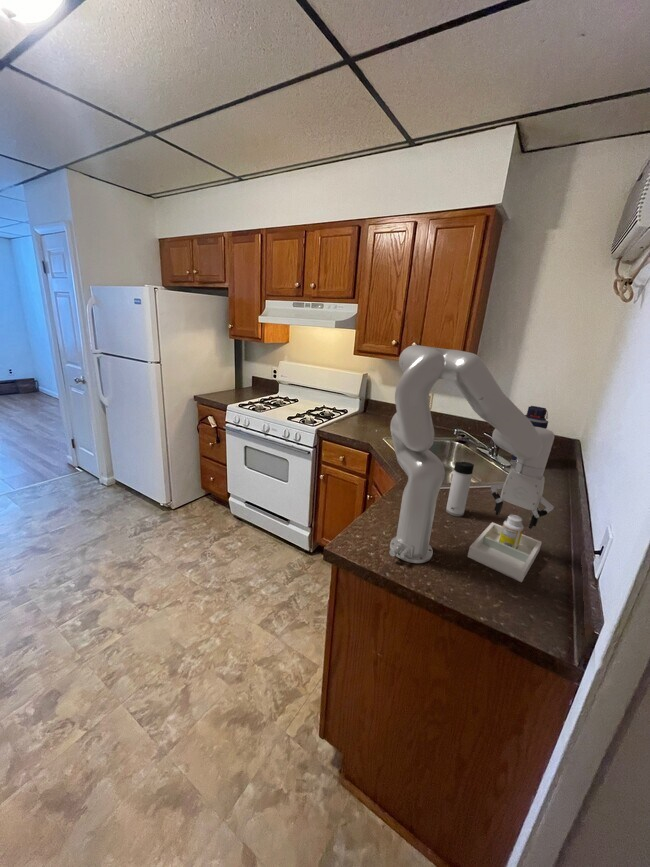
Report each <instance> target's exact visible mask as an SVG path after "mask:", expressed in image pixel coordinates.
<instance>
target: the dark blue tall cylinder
mask: <svg viewBox="0 0 650 867" xmlns="http://www.w3.org/2000/svg"><path fill="white" fill-rule="evenodd" d="M524 415H525V416H526V417H527V418H528V419H529V420H530V422H531V423H532V424H533V426H534V427H540V428H545V429H548V424H549V421H548V418H549V417H548V416H549V413H548V410H547V409H546V408H545V407H541V406H538V405H537V406H536V405H535V406H534V405H530V406H528V408H527V412H526V414H524ZM511 460H517V457H515V456H514V455H512V454H511V458H510V461H511Z"/></svg>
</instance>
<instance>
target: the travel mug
mask: <svg viewBox="0 0 650 867" xmlns="http://www.w3.org/2000/svg"><path fill="white" fill-rule="evenodd" d="M474 467H475V465H474V463H472V462H469V461H456V462H455V463H454V467H453V472H452V477H451V478H452V479H451V483H450V487H449V492H448V496H447V497H448V499H447V504H446V509H445V511H446V513H447V514H449V515H451V516H455V517H463V516H464V514H465V511H466V505H467V501H468V495H469V491H470V487H471V482H472V478H473V473H474V472H473V471H474Z"/></svg>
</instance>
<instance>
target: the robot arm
mask: <svg viewBox="0 0 650 867" xmlns="http://www.w3.org/2000/svg"><path fill="white" fill-rule="evenodd" d="M398 366H399V369H400V370H401V371H402V373H403V374H402V375H401V377H400V379H399V380H398V382H397V385H396V388H395V391H394V392H395V393H394V402H395V409H396V410H395V411H396V412H395V413H394V414H393V415H392V418H391V420H390V426H389V428H390V434H391V435H390V436H391V439H392V445H393V448H394V452H395V457H396V460H397V463H398V465H399V467H400V468H401V469H402V470H403V471H404V473H405V475H407V478H408V479H407V482H406V485H405V487H404V489H403V492H402V498H401V505H400V511H399V519H398V524H397V530H396V536H395V537H392V538H391V541H390V542H389V543H390V544H389V555H390V556H391V557H397V558H399V560H400V559H401V561H404V562H407V563H411V564H412V563H413V564H423V563H426V562H429V561H430V560H431V559H432V557H433V555H434V554H433V553H434V552H433V548H432V546H431V545H430V538H431V534H432V528H433V525H434V524H433V522H434V517H435V513H436V506H437V501H438V498H439V497H438V496H439V492H440V489H441V488H442V485H443V483H444V479H445V477H446V476H445V475H446V470H445V466H444V464H443V462H442V461H441V459H440V458H439V457H438V456H437V455H436V454H434V453H433V452H432V450H430V448H432V446H433V444H434V442H435V429H434V422H433V419H432V414H431V413H432V412H431V408H430V393H431V391H432V388H433V387H434V385H435V384H436V383H437V382H438V380H446V381H450V382H452V383H454V384H455V386H456V388H458V390H459V391H460V393H461V394H462V395H463V396H464V398H465V401H467V403H468V404H469V405H470V407H471V409H472V410H473V412H474V413H475V414H476V415H477V416H479V418H481V419H482V420H483V421H485V422H487V423H488V424H489V425H491V426H492V427H493V428H494V429H493V431H492V434H491V436H492V438H491V439H492V441H493V443H494V444H495V445H496V446H497V447H499V449H500V448H501V449H502V450H504V451H506V452H507V453H508V454H511V456H512V455H514V456H515V457H517V460H511V459H510V462H509V464H510V465H512V466H513V467H512V468H510V470H509V471H508V474H507V475H506V478H505V481H504V483H500V484H499V483H498V484H492V485H490V490H491V495H492V497H493V498H494V501H495V507H494V511H495V513H494V515H496V516H498V515H500V513H501V511H502V508H503V505H504V502H507V503H508V504H512V505H514V506H517V507H519V508H522V509H525V510H528V511H531V512H532V514H533V515H532V516H531V519H530V522H529V525H528V528H529V529H530V530H532V528H534V527H536V526H537V523H538V521H539V518H542V517H543V516H546V515H548V513H550V512H552V511H553V510H554V508H555V506H554V505H552V504H551V503H550V502H549V501H548V500H547V499H546V498H544V497H543V494H544V493H543V492H544V489H545V488H544V487H545V476H544V472H545V469H546V466H547V463H548V459H549V456H550V453H551V451H552V447H553V444H554V440H555V434H554V432H553V431H552V430H550V429H548V428H546V429H545V428H540V427H534V426H533V424H532V423H531V422H530V420H529V419H528V418H527V417H526V416H525V415H526V414H525V413H523V411H522V410H520V408H518V406H517V405H515V403H514V402H513V401H512V400H511V399H510V398H509V397H508V396H507V395H506V394H505V393H504V391H503V390H502V389H501V387H500V385H499V384H498V383H497V381H496V379H495V377H494V376H493V375H492V373H491V371H490V369H489V368H488V367H487V365H486V364H485V362H484V361H483V360H482V358H481V357H480V356H479V355H477V354H476V353H473V352H469V351H464V350H461V349H460V350H459V349H449V348H448V349H446V348H438V347H432V346H425V345H419V344H414V345H410V346H407V347H406V348H404V349H403V350H402V352H400V355H399V357H398ZM498 490H501V491H500V494H499V492H498ZM540 504H541V505H543V506H544V507H545V508H544V509H542V510H541V509H540V508H539V506H540Z"/></svg>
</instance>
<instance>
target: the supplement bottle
mask: <svg viewBox="0 0 650 867" xmlns="http://www.w3.org/2000/svg"><path fill="white" fill-rule="evenodd" d="M502 526H503V527H502V531H501V535H500V539H499V542H500V543H503V544H505V545H507V546H510V547H512V548H514V549H518V546H519V543H520V539H521V535H522V534H523V530H524V525H523V518H522V517H521V516H519V515H516V514H509V515H507V518H506V519H505V520H504V521H503V524H502Z"/></svg>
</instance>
